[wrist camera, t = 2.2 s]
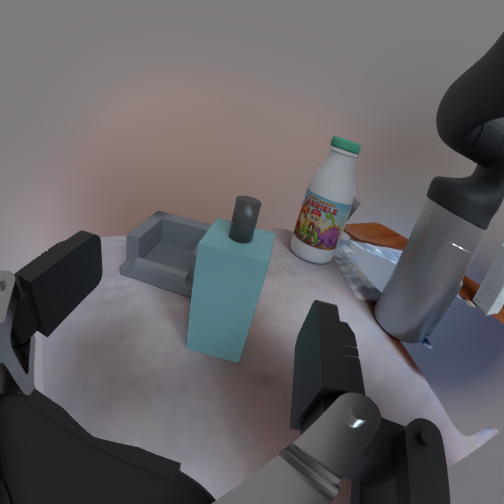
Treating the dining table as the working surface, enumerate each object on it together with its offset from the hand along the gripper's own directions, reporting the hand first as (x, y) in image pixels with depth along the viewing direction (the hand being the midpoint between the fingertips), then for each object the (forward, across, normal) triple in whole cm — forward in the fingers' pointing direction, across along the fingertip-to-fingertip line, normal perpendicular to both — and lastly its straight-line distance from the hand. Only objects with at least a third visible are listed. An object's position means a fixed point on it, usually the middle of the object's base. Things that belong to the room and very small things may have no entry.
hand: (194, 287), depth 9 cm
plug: (+12, 0, +14) cm, 18 cm away
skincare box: (+34, -55, +14) cm, 66 cm away
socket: (+21, +9, +14) cm, 27 cm away
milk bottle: (+36, -10, +14) cm, 40 cm away
